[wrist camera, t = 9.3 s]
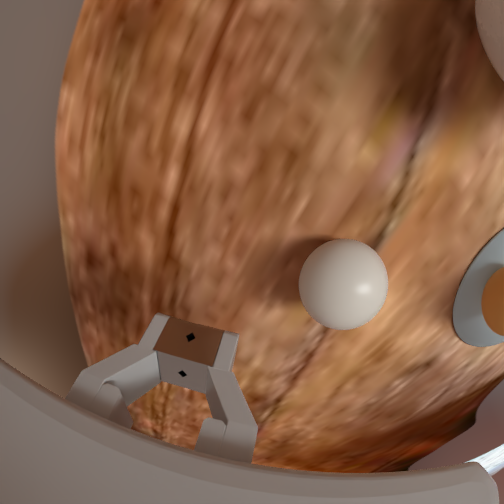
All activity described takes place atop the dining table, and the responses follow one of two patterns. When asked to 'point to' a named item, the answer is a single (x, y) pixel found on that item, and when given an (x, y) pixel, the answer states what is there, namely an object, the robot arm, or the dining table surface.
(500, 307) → the object ball
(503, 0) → the lidded jar
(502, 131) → the dining table surface
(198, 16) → the dining table surface
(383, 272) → the cue ball
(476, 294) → the gray disc
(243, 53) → the dining table surface
